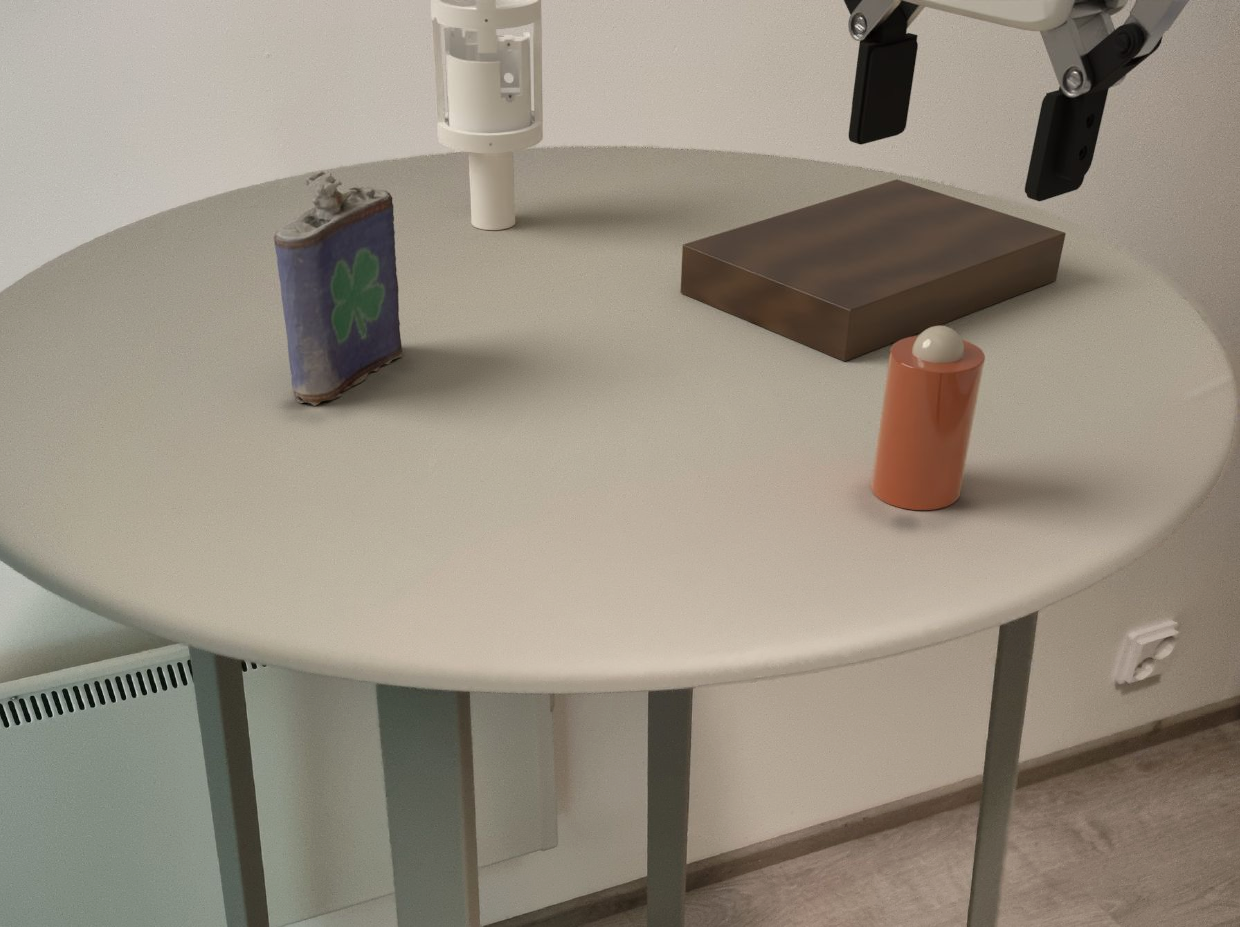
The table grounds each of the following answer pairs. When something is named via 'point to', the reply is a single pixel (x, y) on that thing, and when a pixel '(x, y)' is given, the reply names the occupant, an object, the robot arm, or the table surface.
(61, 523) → the table surface
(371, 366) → the flask
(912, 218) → the board
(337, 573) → the table surface
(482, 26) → the white cylindrical fitting
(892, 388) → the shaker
